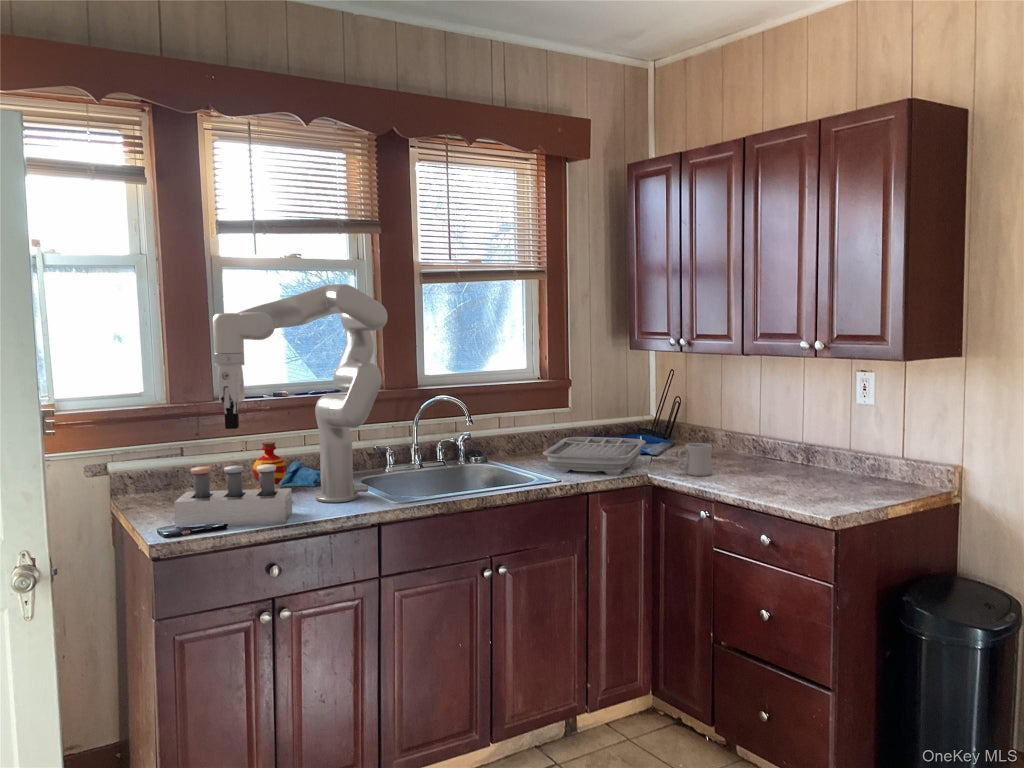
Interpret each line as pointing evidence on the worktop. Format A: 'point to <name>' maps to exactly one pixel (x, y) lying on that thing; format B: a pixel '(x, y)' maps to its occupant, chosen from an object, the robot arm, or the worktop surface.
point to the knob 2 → (266, 480)
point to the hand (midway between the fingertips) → (232, 428)
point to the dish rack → (594, 454)
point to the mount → (234, 508)
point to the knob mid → (234, 480)
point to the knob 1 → (201, 482)
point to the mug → (697, 459)
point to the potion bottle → (271, 462)
